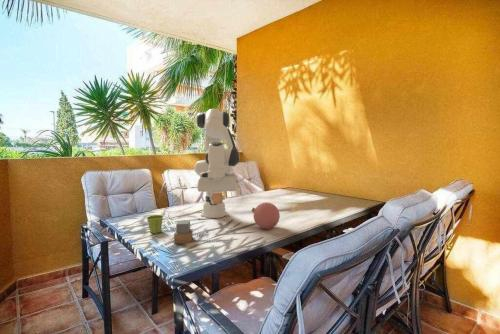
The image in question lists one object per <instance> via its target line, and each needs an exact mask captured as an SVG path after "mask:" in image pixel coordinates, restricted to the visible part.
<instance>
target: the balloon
mask: <svg viewBox="0 0 500 334" xmlns="http://www.w3.org/2000/svg"><path fill="white" fill-rule="evenodd" d="M251 213H253V220H254V222H255V224H256V225H257V226H258V227H259V228H260V229H263V230H270V229H273V228H274V227H276V225H278V223H279V221H280V216H281V215H280V210H279V208H278V207H277V206H276V205H275V204H273V203H271V202H262V203H260V204H258V205H257V206H256V208H255V207H252V209H251Z"/></svg>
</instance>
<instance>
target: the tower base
mask: <svg viewBox="0 0 500 334" xmlns="http://www.w3.org/2000/svg"><path fill="white" fill-rule="evenodd" d="M193 234H194V233H193V228H190V231H189V233H186V234H177V231H176V230H175V232H174V234H173V241H174V242H173V243H174V244H190V243H191V242H192V240H193V238H194V237H193V236H194V235H193Z"/></svg>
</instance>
